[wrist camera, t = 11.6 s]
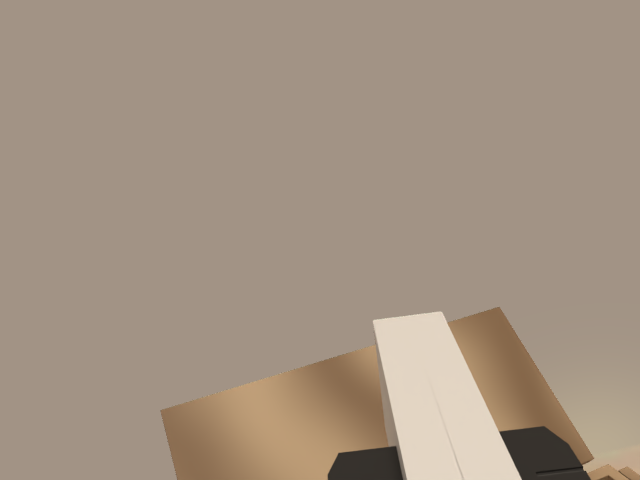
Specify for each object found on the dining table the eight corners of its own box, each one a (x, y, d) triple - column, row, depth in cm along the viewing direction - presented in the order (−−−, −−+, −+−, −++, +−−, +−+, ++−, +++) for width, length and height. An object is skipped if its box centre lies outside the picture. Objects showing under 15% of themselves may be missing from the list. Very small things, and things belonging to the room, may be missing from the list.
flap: (594, 458, 27) (588, 462, 27) (499, 306, 31) (495, 311, 31) (212, 620, 21) (212, 621, 22) (160, 410, 26) (161, 414, 26)
